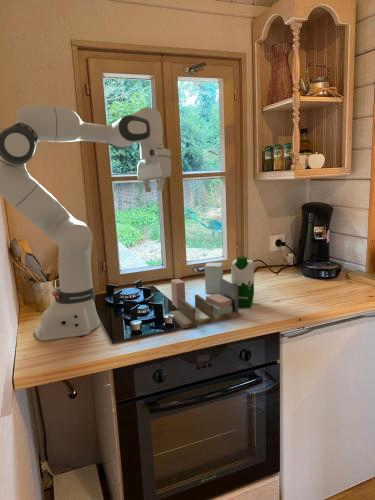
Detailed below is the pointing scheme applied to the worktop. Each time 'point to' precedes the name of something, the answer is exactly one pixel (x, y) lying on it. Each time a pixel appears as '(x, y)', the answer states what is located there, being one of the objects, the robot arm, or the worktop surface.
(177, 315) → the walnut book rack
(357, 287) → the worktop surface
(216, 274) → the supplement box
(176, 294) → the rose book
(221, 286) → the dark metal bookend
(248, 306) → the milk carton
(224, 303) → the toppled books
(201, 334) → the worktop surface
